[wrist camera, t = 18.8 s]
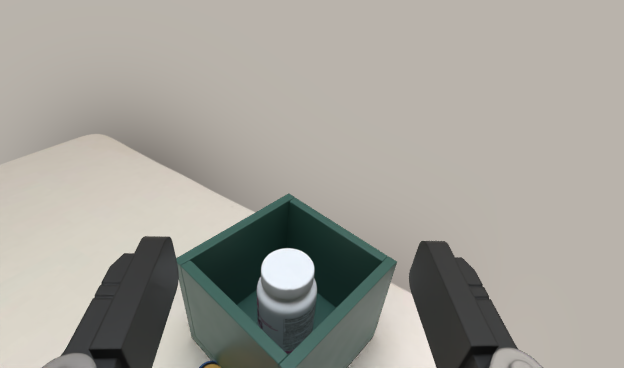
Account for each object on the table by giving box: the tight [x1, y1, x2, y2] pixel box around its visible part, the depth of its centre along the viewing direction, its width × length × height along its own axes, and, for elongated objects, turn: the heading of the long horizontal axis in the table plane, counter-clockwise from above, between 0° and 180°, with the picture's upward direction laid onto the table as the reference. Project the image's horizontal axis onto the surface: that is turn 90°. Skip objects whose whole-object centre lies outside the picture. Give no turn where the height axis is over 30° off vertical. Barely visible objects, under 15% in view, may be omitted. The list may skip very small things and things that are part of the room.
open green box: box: [176, 194, 397, 368], centre depth 29 cm, size 12×12×10 cm
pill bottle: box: [257, 248, 317, 355], centre depth 28 cm, size 5×5×8 cm
